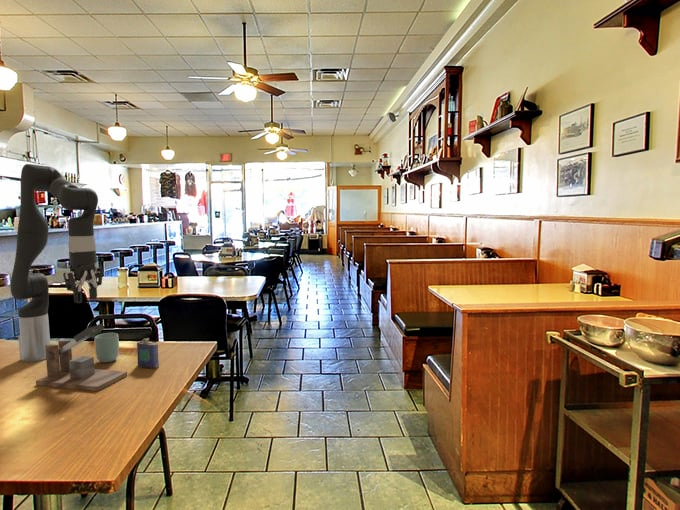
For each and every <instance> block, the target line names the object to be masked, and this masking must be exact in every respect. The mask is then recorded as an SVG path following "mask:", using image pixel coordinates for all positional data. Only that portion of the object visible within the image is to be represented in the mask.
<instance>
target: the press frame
mask: <svg viewBox="0 0 680 510" xmlns="http://www.w3.org/2000/svg"><path fill="white" fill-rule="evenodd" d="M71 341H72V340H70V339H69V340H68V339H67V340H66V339H59V340H58V341H57V343H58V344H53V343H52V344H51V343H50V344H47V345H45V350H46V359H45V360H46V362H45V363H46V372H47V375H46V376H43V377H41V378H39V379H37V380H35V384H36V386H41V385H42V387H50V386H52V387H53V388H62V389H70V390H72V389H73V390H79V391H89V390H91V392H100V391H101V389H102V390H103V389H106V388H107V387H109V386H111V385H113V384H114V383H116V382H119V381H120V380H122V379H124V378H125V377H127V376H128V371H123V370H111V369H110V370H109V369H99V368H95V359H94V356H86V355H85V356H84V355H81V356H77V357H75V358H73V351H72V349H73V348H72V349H70V350H68V351H67V352H65V353H64V354H62V355H60V356H59V349H60V348H61V347H63V346H64V345H66V344H68V343H69V342H71ZM52 387H51V388H52ZM99 390H100V391H99Z"/></svg>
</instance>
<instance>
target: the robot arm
mask: <svg viewBox="0 0 680 510" xmlns="http://www.w3.org/2000/svg"><path fill="white" fill-rule="evenodd" d="M35 192H48V193H49V192H50V193H51V195H52V196H53V197H54V198H55V199H56V200H58V201H59V203H60V206H61V207H62V208H63V209H65V210H69V211H83V212H82V214H81V215H80V216H76V217H71V218H70V219H68V221H67V229H68V230H67V231H68V242H67V243H68V256H69V257H68V258H69V265H71V271H68V272H64V273H63V279H64V283H65V288H66V291H68V292H69V291H70V292H72V293H73V294H72V295H73V301H74V303H75V304H83V295H82V294H83V293H82V288H83V285H84V284H85V283H87V285H88V295H89V296H88V297H89V299H90V300H96V299H97V297H98V287H99V286H101V285H102V284H103V276H104V275H103V274H104V268H103V267H96V265H95V264H97V263H98V261H97V260H98V259H97V250H96V245H97V244H96V240H95V230H94V220H95V216H96V211H97V208H98V203H99V197H98V194H97V193H96V190H94V189H92V188H85V187H84V188H83V187H78V185H77V184H74V183H73V182H71V181H69V180H67V179H66V178H65V176H64V175H62V173H61V172H60V171H59V170H58V169H57V168H55V167H52V166H49V165H41V164H40V165H39V164H32V163H26V164H24V165H23V167H22V169H21V172H20V204H19V205H20V207H19V218H18V224H17V234H16V235H17V236H16V248H15V250H16V251H15V259H14V263H13V269H12V274H11V278H10V286H9V287H10V293H11V296H12V298H13V299H15V300H18V301H19V300H28V299H31V300H30V301H29V302H28V303H27V304H24V306H22V307H20V308H19V309H18V311H17V315H18V324H19V325H18V326H19V335H18V337H17V338H18V349H19V351H18V352H19V360H21V361H22V362H25V363H30V362H31V363H32V362H39V361H42V360H46V350H45V345H47V344H51V335H50V324H49V313H48V312H49V311H48V310H49V306H50V300H49V298H50V297H49V291H50V290H49V281H48V279H47V276H46V275H45V274H44V273H41V272H36V273H35V272H34V273H30V270H31V268H32V265H33V263H34V262H35V260H36V259H37V258H38V257H39V256H40V254H41V253H42V252H43V251H44V250H45V248H46V246H47V243H48V237H49V230H50V228H49V224H48V221H47V219H46V218H45V217H44V215H43V214H42V212H41V211H40V210H39V208H38V206H37V203H36V200H35Z"/></svg>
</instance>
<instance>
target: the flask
mask: <svg viewBox="0 0 680 510" xmlns="http://www.w3.org/2000/svg"><path fill="white" fill-rule="evenodd" d="M136 348H137V349H136V350H137V351H136V352H137V367H139V368H144V369H145V368H146V369H151V368H153V369H154V368H156V369H158V368H159V367H160V361H159V344H158V343H157V342H150V338H149V337H147V338H143V339H142V340H139V341H137V342H136Z"/></svg>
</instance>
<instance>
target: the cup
mask: <svg viewBox="0 0 680 510" xmlns="http://www.w3.org/2000/svg"><path fill="white" fill-rule="evenodd" d="M94 348H95V356H96V360H97V361H98V362H100V363H105V364H106V363H112V362H114V361H115V360H117V359H118V357H119V352H120V341H119V334H118V332H117V333H116V332H106V333H105V332H104V333H100V334H96V335H94Z"/></svg>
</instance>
